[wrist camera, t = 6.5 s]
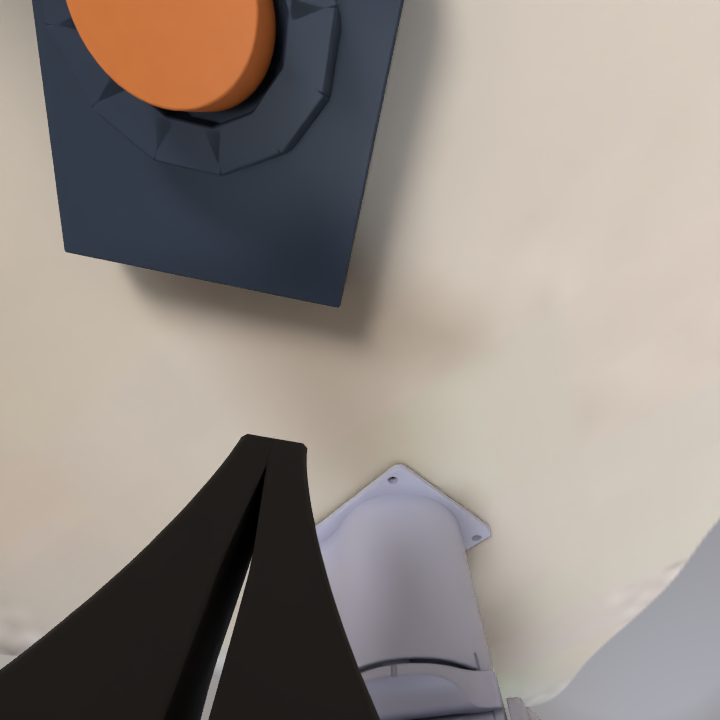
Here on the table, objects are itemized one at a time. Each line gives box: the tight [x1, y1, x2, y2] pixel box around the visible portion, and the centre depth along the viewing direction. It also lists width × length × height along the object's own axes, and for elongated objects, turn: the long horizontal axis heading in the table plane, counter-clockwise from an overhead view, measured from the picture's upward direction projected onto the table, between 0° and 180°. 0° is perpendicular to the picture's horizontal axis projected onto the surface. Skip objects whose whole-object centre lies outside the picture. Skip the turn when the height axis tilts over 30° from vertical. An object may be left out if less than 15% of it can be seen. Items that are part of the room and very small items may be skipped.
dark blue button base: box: [32, 0, 404, 308], centre depth 13 cm, size 12×10×4 cm
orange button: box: [66, 0, 276, 112], centre depth 10 cm, size 4×4×2 cm
